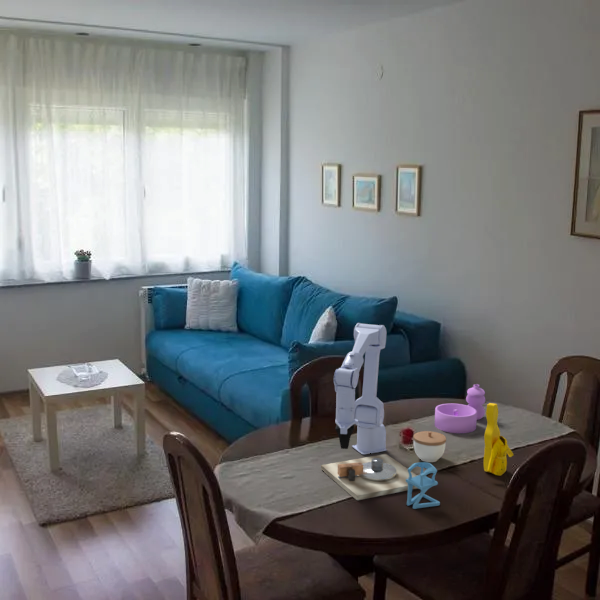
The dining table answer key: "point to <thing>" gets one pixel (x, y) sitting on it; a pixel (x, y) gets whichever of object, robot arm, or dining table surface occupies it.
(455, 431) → the container set
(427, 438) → the lidded jar
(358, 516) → the dining table surface
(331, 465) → the base board
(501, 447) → the figure statuette
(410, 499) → the blue abstract sculpture
